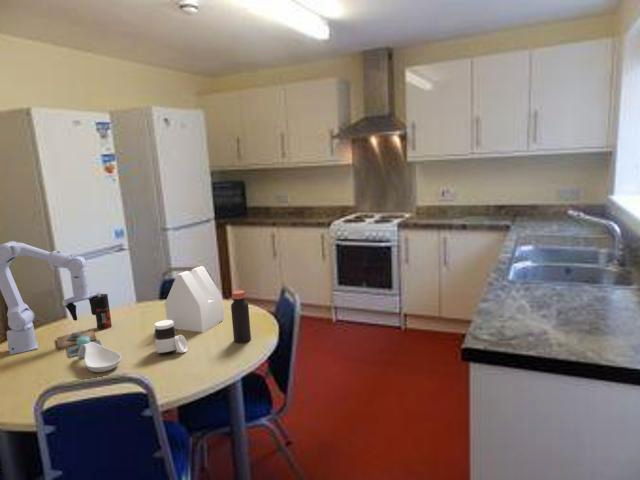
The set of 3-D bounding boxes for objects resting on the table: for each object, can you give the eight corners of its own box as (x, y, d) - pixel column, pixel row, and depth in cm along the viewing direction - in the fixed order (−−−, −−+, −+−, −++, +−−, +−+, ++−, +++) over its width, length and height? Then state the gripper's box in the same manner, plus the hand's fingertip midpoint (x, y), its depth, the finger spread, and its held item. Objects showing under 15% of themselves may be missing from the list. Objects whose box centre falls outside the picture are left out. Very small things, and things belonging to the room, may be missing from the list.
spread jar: (155, 349, 176) (152, 320, 174) (185, 343, 180) (182, 315, 178) (157, 360, 165) (154, 330, 163) (189, 354, 169) (186, 324, 167)
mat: (68, 358, 172) (68, 357, 172) (66, 348, 182) (66, 347, 182) (103, 349, 178) (103, 348, 178) (99, 340, 188) (99, 339, 188)
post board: (58, 350, 180) (57, 343, 180) (57, 339, 192) (55, 333, 191) (96, 341, 187) (95, 334, 187) (93, 331, 199) (92, 325, 199)
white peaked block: (224, 320, 205) (219, 267, 201) (202, 332, 192) (197, 275, 187) (190, 316, 213) (185, 265, 209) (167, 328, 199) (161, 273, 195)
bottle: (247, 343, 176) (243, 294, 173) (231, 343, 178) (226, 294, 174) (253, 337, 183) (249, 289, 179) (237, 336, 184) (233, 289, 181)
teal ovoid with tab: (75, 347, 180) (74, 338, 179) (87, 344, 184) (86, 334, 183) (81, 351, 176) (80, 342, 175) (93, 347, 179) (92, 338, 179)
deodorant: (108, 324, 208) (103, 293, 206) (114, 326, 205) (109, 294, 202) (95, 328, 204) (90, 296, 201) (101, 330, 200) (96, 298, 198)
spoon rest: (128, 367, 161) (125, 348, 160) (95, 380, 152) (92, 360, 151) (99, 352, 176) (96, 335, 175) (67, 363, 168) (64, 345, 167)
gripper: (65, 291, 176) (70, 324, 179) (102, 282, 188) (106, 313, 190) (58, 289, 181) (63, 321, 183) (94, 280, 192) (98, 311, 194)
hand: (84, 317), depth 187 cm, fingers open, 7 cm apart
